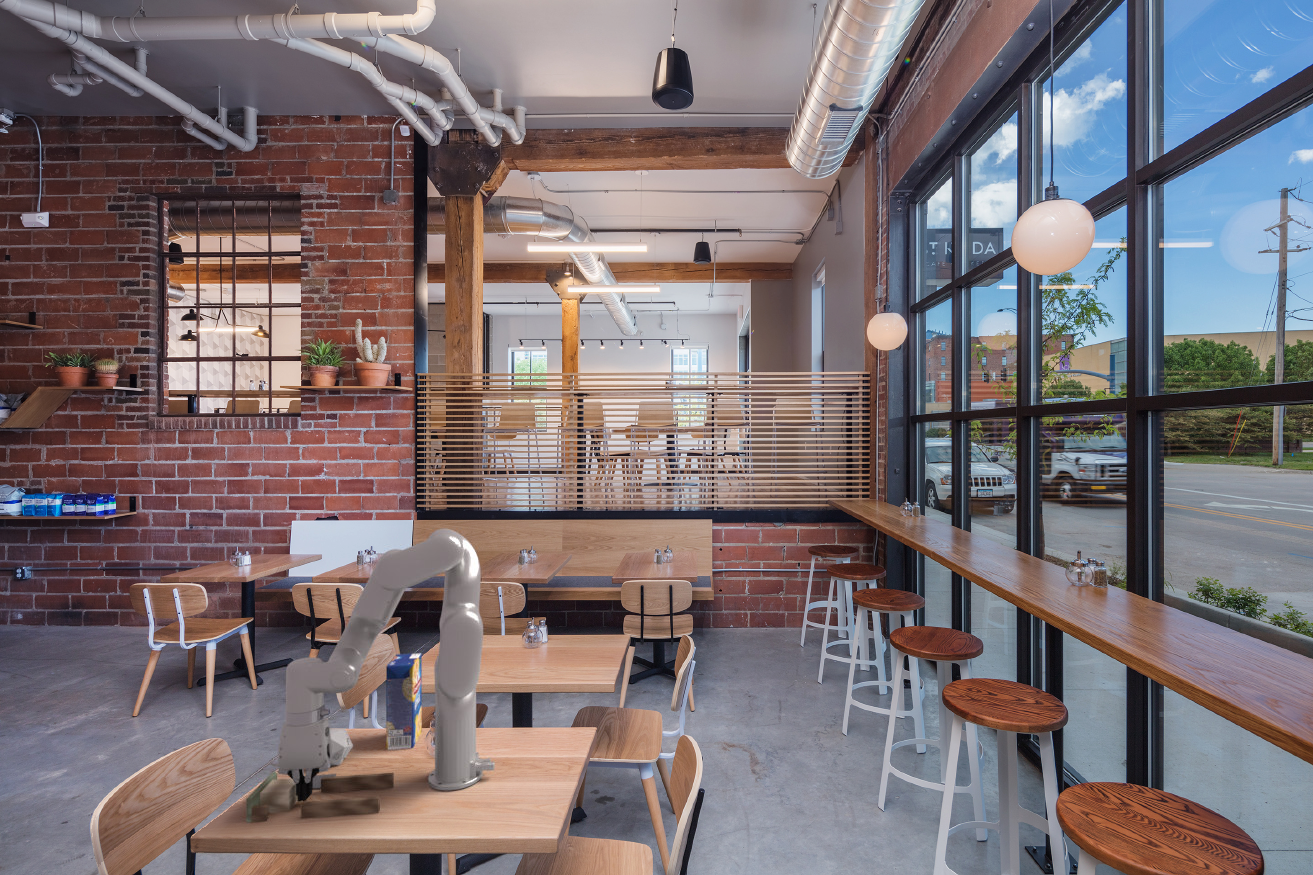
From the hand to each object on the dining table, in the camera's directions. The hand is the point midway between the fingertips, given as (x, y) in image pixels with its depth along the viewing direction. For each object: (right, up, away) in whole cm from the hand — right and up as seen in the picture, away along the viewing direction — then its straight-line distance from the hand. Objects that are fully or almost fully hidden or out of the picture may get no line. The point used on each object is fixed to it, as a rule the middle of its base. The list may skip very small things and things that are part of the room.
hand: (304, 798), depth 146 cm
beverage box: (+10, -3, +33) cm, 34 cm away
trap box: (+5, -1, 0) cm, 5 cm away
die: (-4, -2, +20) cm, 21 cm away
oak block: (-5, -2, 0) cm, 5 cm away
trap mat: (-3, -2, +10) cm, 10 cm away
